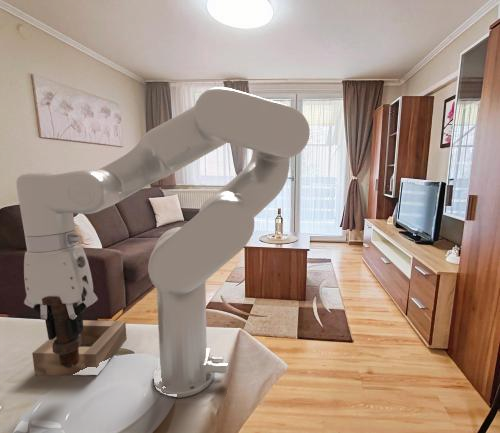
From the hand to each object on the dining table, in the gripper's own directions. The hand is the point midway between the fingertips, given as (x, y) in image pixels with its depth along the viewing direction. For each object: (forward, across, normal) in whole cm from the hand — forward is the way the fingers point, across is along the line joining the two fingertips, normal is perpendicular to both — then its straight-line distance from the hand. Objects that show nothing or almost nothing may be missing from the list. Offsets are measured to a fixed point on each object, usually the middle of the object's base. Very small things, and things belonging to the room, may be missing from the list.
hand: (66, 334), depth 55 cm
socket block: (+12, +4, -11) cm, 16 cm away
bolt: (+7, 0, 0) cm, 7 cm away
